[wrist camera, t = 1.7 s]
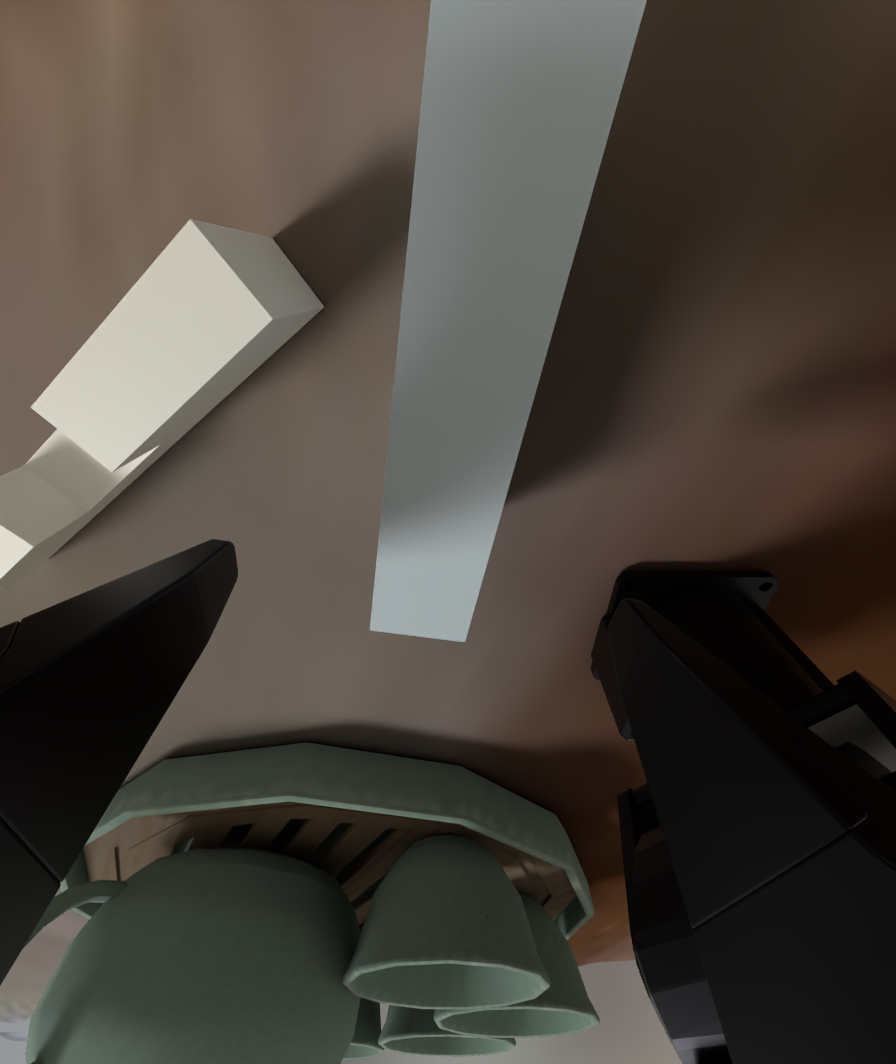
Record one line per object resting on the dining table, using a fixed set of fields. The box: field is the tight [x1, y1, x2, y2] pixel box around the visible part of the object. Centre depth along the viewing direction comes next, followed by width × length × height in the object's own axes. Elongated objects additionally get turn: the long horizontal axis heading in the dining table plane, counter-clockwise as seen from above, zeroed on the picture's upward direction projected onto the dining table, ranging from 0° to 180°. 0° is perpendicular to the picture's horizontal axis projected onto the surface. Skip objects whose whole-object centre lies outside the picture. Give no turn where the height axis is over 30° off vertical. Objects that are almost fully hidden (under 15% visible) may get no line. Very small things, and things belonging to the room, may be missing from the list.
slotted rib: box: [0, 219, 324, 593], centre depth 12 cm, size 16×2×4 cm, turn 125°
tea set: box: [23, 742, 599, 1064], centre depth 27 cm, size 40×40×16 cm
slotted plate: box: [370, 0, 647, 642], centre depth 10 cm, size 12×2×6 cm, turn 170°
